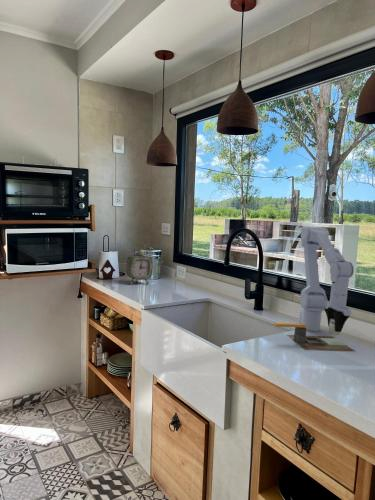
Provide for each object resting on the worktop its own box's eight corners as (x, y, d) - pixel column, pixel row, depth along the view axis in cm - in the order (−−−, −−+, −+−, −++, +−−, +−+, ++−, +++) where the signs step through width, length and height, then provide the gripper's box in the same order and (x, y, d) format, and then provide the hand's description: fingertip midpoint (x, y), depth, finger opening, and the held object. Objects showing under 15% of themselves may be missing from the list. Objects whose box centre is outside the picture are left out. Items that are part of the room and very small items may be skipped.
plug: (326, 331, 139) (327, 318, 139) (336, 331, 140) (337, 318, 139) (332, 334, 135) (333, 321, 135) (342, 335, 136) (343, 321, 135)
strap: (274, 324, 134) (274, 322, 134) (303, 326, 136) (304, 323, 136) (276, 326, 132) (276, 323, 132) (306, 327, 134) (306, 325, 134)
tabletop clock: (129, 285, 220) (131, 243, 217) (124, 282, 227) (126, 242, 225) (151, 284, 227) (154, 244, 224) (145, 282, 235) (148, 243, 232)
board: (286, 337, 143) (288, 321, 142) (331, 338, 145) (333, 322, 145) (304, 352, 127) (306, 334, 126) (355, 354, 130) (357, 336, 129)
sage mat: (319, 338, 141) (319, 337, 141) (336, 339, 142) (336, 338, 142) (329, 345, 134) (329, 344, 134) (347, 345, 135) (347, 344, 135)
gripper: (319, 289, 143) (315, 323, 144) (339, 297, 129) (335, 335, 130) (335, 290, 144) (332, 324, 145) (358, 298, 130) (353, 336, 131)
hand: (334, 329), depth 137 cm, fingers closed on plug, 4 cm apart
